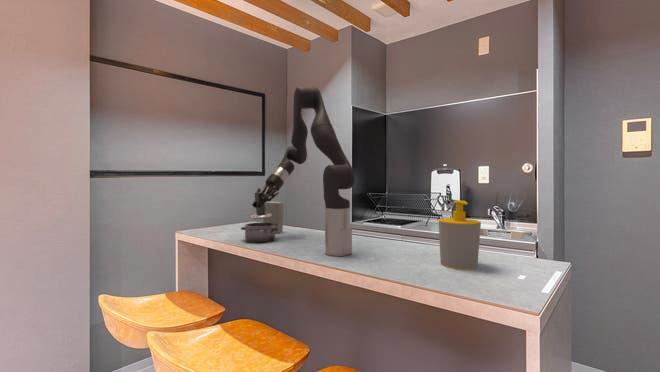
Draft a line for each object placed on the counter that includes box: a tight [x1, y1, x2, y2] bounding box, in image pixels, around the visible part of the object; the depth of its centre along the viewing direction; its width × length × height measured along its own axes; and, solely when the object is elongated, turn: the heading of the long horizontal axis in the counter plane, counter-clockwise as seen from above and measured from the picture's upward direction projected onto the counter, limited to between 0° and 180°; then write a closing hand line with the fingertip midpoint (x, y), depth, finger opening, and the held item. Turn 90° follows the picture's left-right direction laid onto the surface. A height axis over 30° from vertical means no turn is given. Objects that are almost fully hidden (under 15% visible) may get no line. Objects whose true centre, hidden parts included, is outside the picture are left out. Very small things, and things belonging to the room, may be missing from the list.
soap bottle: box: [438, 199, 482, 271], centre depth 113 cm, size 13×13×21 cm
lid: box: [250, 191, 272, 220], centre depth 154 cm, size 9×9×11 cm
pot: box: [240, 222, 279, 244], centre depth 154 cm, size 17×13×7 cm
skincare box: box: [262, 201, 285, 235], centre depth 174 cm, size 8×7×16 cm
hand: (255, 206), depth 152 cm, fingers closed on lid, 2 cm apart
